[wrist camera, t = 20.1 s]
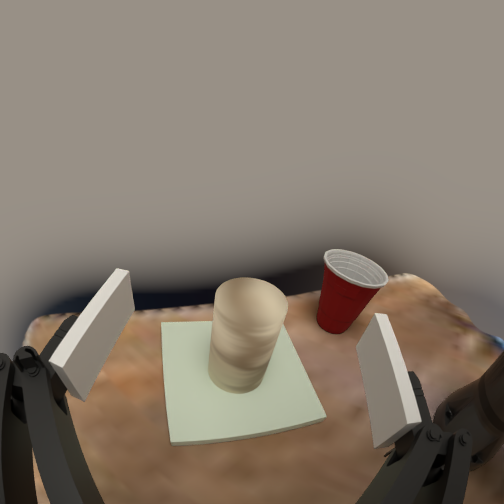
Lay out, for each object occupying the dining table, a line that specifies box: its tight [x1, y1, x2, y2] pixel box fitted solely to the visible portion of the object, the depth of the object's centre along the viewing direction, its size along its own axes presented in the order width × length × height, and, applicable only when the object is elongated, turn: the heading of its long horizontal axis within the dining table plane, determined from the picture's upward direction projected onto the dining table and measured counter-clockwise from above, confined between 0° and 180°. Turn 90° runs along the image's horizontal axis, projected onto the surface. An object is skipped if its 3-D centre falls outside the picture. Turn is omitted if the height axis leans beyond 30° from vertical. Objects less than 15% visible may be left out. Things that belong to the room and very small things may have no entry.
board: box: [161, 321, 327, 446], centre depth 32 cm, size 18×18×2 cm
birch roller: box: [208, 278, 288, 394], centre depth 29 cm, size 7×7×12 cm
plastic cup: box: [317, 249, 389, 334], centre depth 42 cm, size 11×11×12 cm
